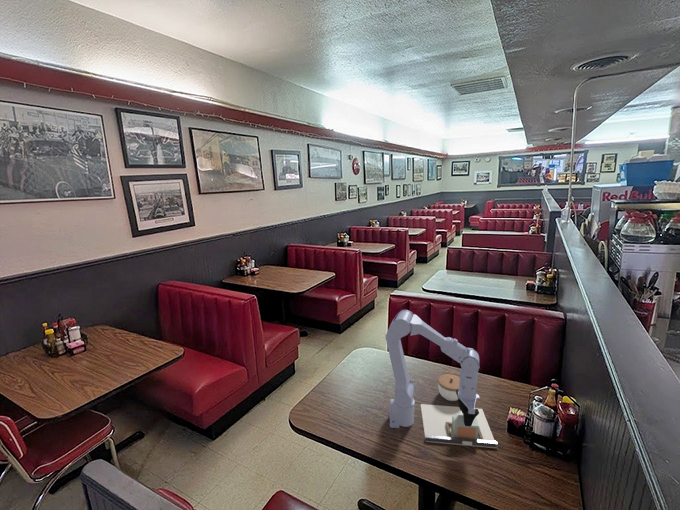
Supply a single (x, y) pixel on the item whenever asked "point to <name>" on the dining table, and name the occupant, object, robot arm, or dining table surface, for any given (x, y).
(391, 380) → the dining table surface
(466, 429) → the carton
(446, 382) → the lidded jar
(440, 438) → the white square tray
